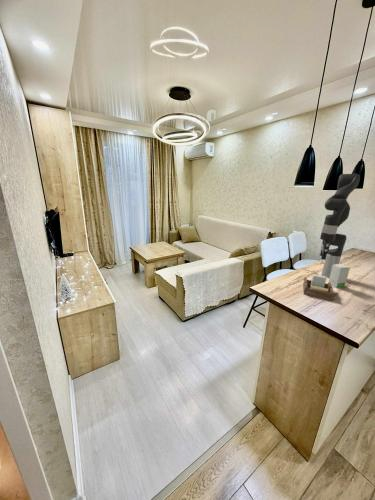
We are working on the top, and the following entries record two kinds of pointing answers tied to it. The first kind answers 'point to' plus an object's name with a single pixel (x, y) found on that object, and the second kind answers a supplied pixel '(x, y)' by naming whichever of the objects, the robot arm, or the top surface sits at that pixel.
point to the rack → (317, 293)
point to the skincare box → (339, 275)
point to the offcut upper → (319, 288)
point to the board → (318, 281)
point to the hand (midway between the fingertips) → (322, 257)
